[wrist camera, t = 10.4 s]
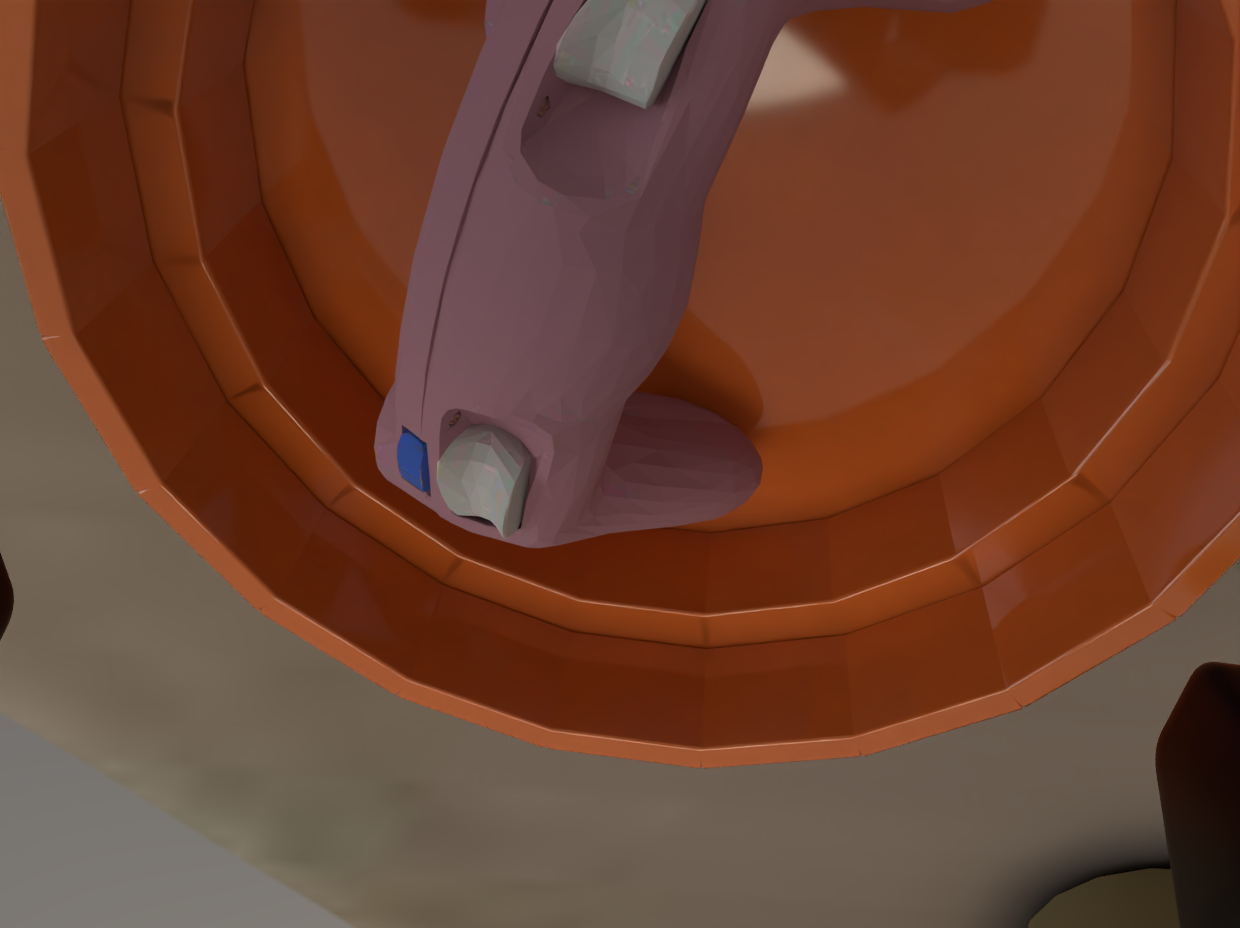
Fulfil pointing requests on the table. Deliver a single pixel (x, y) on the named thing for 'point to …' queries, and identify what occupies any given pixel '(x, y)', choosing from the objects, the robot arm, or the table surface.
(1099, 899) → the squeeze bottle
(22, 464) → the table surface
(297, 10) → the orange mixing bowl
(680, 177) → the video game controller
